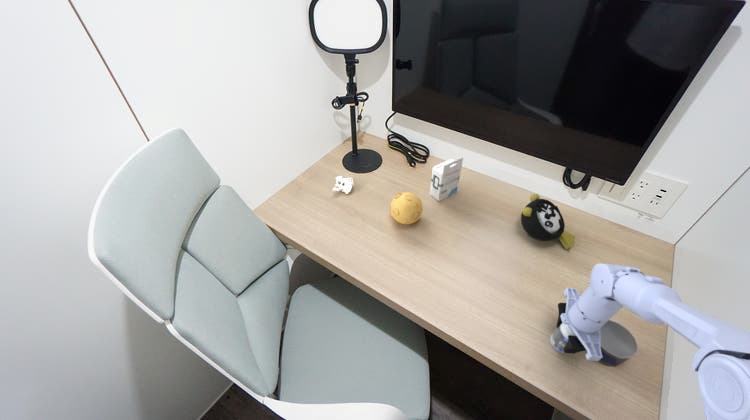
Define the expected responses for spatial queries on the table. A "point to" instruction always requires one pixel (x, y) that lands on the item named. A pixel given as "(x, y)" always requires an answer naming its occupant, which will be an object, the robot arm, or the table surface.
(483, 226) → the table surface
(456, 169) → the ink box
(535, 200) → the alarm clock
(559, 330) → the pill bottle
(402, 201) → the stress ball
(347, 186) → the anatomical pelvis
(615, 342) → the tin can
